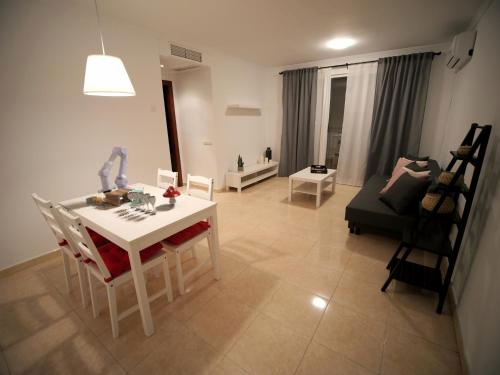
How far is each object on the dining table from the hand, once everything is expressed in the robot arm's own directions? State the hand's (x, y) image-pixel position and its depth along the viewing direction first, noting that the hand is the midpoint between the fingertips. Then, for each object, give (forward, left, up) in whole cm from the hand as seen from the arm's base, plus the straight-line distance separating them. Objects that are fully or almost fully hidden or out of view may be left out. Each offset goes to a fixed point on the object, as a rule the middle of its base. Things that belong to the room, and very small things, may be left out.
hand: (108, 199), depth 194 cm
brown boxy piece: (0, +15, -1) cm, 15 cm away
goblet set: (+7, +46, -2) cm, 46 cm away
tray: (+9, -2, -2) cm, 9 cm away
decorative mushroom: (-12, +58, -2) cm, 60 cm away
